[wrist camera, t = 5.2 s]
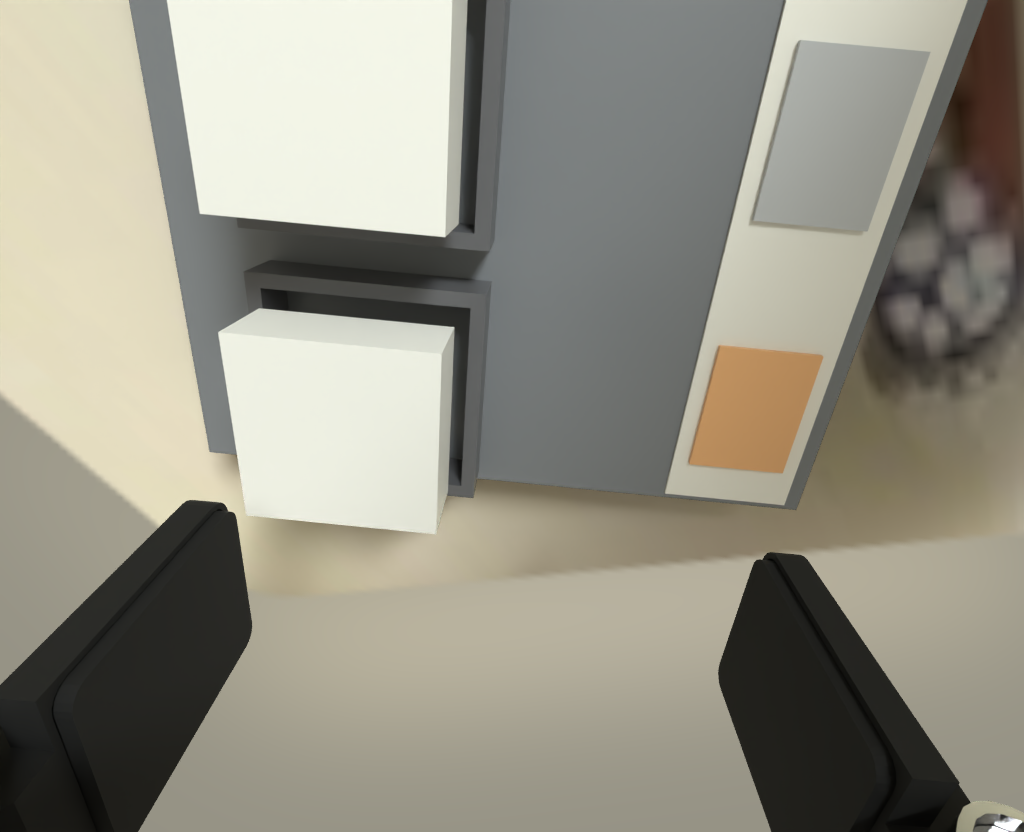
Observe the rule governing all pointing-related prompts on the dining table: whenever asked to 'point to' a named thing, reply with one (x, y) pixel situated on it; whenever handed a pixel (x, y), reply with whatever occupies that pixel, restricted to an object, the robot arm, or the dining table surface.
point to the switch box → (620, 234)
